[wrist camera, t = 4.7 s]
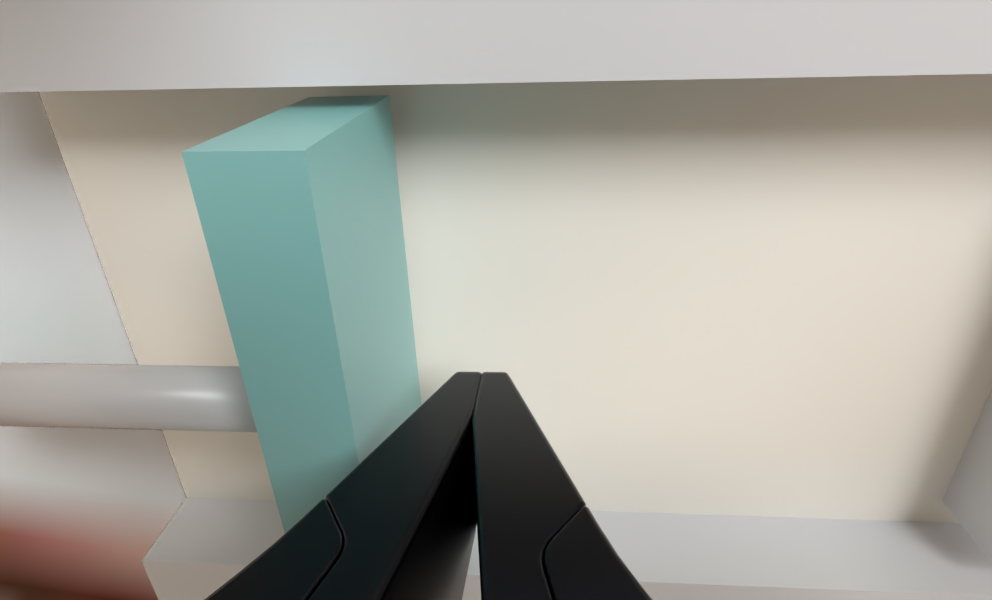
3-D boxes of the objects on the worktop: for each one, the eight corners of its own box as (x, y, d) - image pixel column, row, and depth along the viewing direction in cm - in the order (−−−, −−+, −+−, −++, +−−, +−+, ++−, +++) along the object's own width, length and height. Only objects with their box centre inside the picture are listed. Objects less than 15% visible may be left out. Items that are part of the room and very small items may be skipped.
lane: (1200, -69, 8) (1452, -95, 6) (928, 542, 14) (1004, 648, 11) (35, -30, 9) (-123, -37, 7) (219, 517, 15) (162, 609, 13)
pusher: (389, 95, 9) (303, 150, 5) (432, 509, 12) (396, 680, 9) (-126, 104, 9) (-466, 158, 6) (67, 497, 13) (-81, 654, 10)
